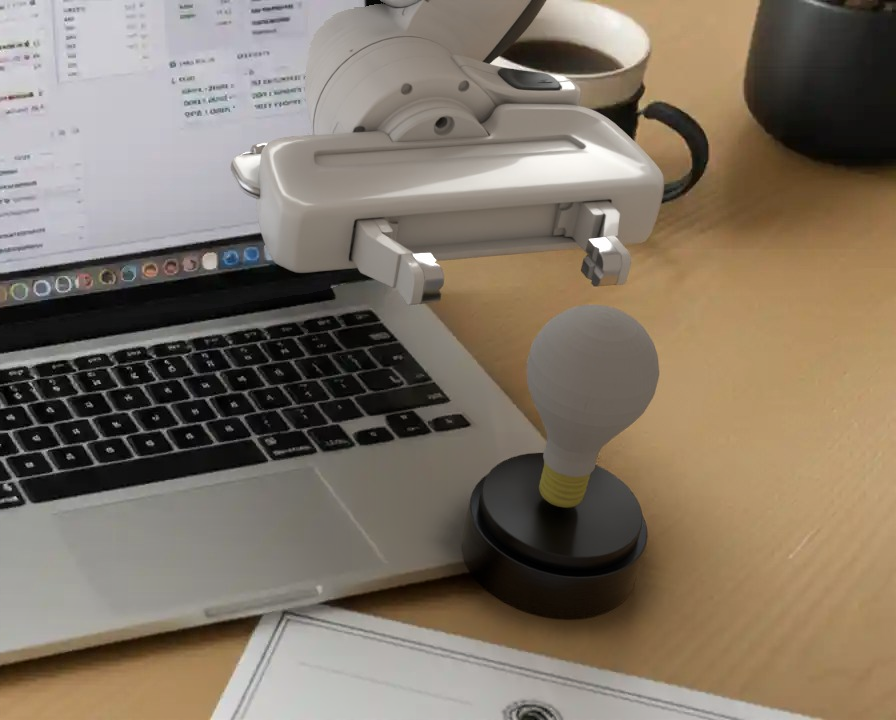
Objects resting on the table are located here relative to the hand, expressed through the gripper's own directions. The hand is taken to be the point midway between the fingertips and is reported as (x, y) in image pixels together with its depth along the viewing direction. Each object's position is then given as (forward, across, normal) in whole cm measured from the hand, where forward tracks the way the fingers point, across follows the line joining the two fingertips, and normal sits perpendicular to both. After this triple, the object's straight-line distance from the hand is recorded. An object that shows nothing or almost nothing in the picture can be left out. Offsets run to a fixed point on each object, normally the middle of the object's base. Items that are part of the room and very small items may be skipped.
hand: (523, 282), depth 76 cm
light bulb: (+7, 0, +7) cm, 10 cm away
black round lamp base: (+7, 0, +10) cm, 13 cm away
